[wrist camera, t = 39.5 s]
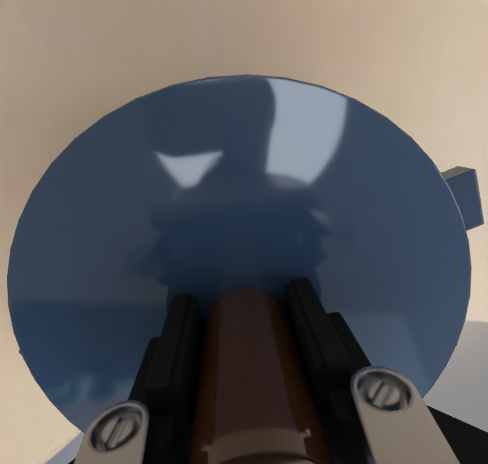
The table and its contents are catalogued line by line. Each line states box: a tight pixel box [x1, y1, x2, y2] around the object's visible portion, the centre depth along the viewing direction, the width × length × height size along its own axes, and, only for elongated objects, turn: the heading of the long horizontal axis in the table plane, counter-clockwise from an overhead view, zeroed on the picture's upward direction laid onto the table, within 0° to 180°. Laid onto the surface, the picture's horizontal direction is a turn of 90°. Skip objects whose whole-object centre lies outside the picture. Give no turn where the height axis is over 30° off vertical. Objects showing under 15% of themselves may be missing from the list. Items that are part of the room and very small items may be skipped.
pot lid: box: [7, 75, 471, 464], centre depth 9 cm, size 16×16×7 cm
